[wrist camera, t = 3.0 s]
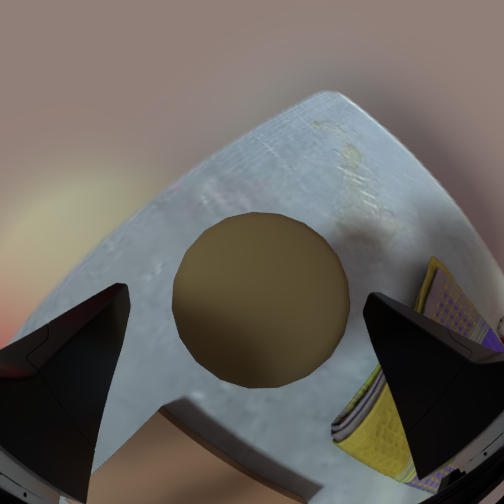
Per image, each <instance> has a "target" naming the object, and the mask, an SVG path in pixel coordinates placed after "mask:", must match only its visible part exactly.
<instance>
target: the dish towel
mask: <svg viewBox="0 0 504 504" xmlns="http://www.w3.org/2000/svg"><path fill="white" fill-rule="evenodd" d="M413 310H415V311H417V312H419V313H421V314H422V315H424V316H426V317H428V318H430V319H432V320H434V321H436V322H438V323H440V324H441V325H443V326H445V327H446V328H449V329H451V330H453V331H455V332H457V333H459V334H460V335H462V336H464V337H466V338H468V339H471V340H473V341H475V342H477V343H479V344H481V345H483V346H485V347H487V348H490V349H492V350H494V351H497V352H504V346H503V345H502V344H501V343H500V342H499V340H498V338H497V337H496V335H495V334H494V332H493V331H492V329H491V328H490V326H489V325H488V324H487V322H486V321H485V320H484V319H483V317H482V316H481V315H480V314H479V313H478V311H477V310H476V308H475V307H474V306H473V304H472V303H471V302H470V301H469V300H468V299H467V298H466V297H465V295H464V294H463V292H462V290H461V289H460V288H459V287H458V286H457V285H456V283H455V282H454V280H453V278H452V276H451V275H450V273H449V272H448V270H447V269H446V268H445V266H444V265H443V264H442V263H440V262H439V260H438V259H436V258H435V257H431V259H430V262H429V266H428V269H427V275H426V277H425V279H424V281H423V284H422V286H421V288H420V290H419V293H418V296H417V299H416V301H415V304H414V307H413ZM331 428H332V429H331V436H332V437H333V438H334V439H333V441H332V442H333V443H334V444H335V445H337V446H338V447H339V448H340V449H342V450H343V451H345V452H346V453H347V454H349V455H350V456H352V457H353V458H355V459H356V460H358V461H360V462H362V463H364V464H366V465H367V466H369V467H371V468H373V469H374V470H376V471H378V472H380V473H382V474H384V475H386V476H389V477H391V478H392V479H394V480H396V481H398V482H402V483H404V484H406V485H409V486H412V487H415V488H418V489H421V490H424V491H427V492H430V493H432V494H436V493H437V491H438V488H439V485H440V482H441V479H442V478H443V477H445V476H446V475H448V474H449V473H451V472H452V471H454V470H455V469H457V468H458V466H457V464H456V462H455V461H454V462H452V463H451V464H449V465H447V466H446V467H444V468H442V469H441V470H439V471H437V472H435V473H433V474H432V475H430V476H428V477H426V478H424V479H422V480H420V481H419V479H418V477H417V473H416V470H415V466H414V463H413V459H412V456H411V452H410V449H409V446H408V442H407V439H406V435H405V432H404V429H403V426H402V423H401V420H400V417H399V414H398V412H397V409H396V406H395V403H394V400H393V397H392V395H391V392H390V389H389V387H388V384H387V381H386V379H385V376H384V373H383V371H382V368H381V366H380V363H379V365H378V366H377V367H376V369H375V370H374V372H373V373H372V375H371V376H370V377H369V379H368V380H367V381H366V383H365V384H364V385H363V386H362V387H361V388H360V390H359V391H358V393H357V394H356V395H355V396H354V398H353V399H352V400H351V401H350V402H349V404H348V405H347V406H346V407H345V409H344V410H343V411H342V412H341V413H340V414H339V415H338V417H337V418H336V419H335V420H334V422H333V423H332V424H331Z"/></svg>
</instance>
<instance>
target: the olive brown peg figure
mask: <svg viewBox="0 0 504 504" xmlns="http://www.w3.org/2000/svg"><path fill="white" fill-rule="evenodd" d="M349 311H350V300H349V288H348V280H347V278H346V275H345V272H344V270H343V267H342V265H341V262H340V260H339V257H338V256H337V254H336V253H335V252H334V250H333V249H332V248H331V247H330V245H329V244H328V243H327V241H326V240H325V239H324V238H323V237H322V236H321V235H319V234H318V233H317V232H315V231H314V230H313V229H311V228H310V227H309V226H307V225H306V224H305V223H302V222H300V221H297V220H295V219H292V218H289V217H287V216H284V215H281V214H273V213H260V212H250V213H246V214H241V215H237V216H232V217H228V218H226V219H224V220H222V221H221V222H219V223H217V224H215V225H214V226H212V227H210V228H209V229H207V230H205V231H204V232H203V233H202V234H201V235H200V237H199V238H198V239H197V240H196V241H195V242H194V243H193V244H192V245H191V247H190V248H189V249H188V250H187V251H186V253H185V255H184V257H183V260H182V262H181V264H180V267H179V269H178V271H177V274H176V276H175V279H174V283H173V297H172V312H173V315H174V319H175V323H176V327H177V330H178V334H179V337H180V339H181V340H182V342H183V343H184V345H185V346H186V348H187V349H188V350H189V352H190V353H191V355H192V356H193V358H194V359H195V361H196V362H197V363H199V364H200V365H201V366H203V367H204V368H205V369H207V370H208V371H209V372H211V373H212V374H213V375H215V376H216V377H218V378H219V379H220V380H223V381H226V382H229V383H233V384H236V385H239V386H242V387H246V388H278V387H281V386H284V385H287V384H289V383H292V382H294V381H297V380H299V379H302V378H304V377H306V376H308V375H310V374H311V373H312V372H314V371H315V370H316V369H317V368H318V367H319V366H321V365H322V364H323V363H324V362H325V361H326V360H328V359H329V358H330V357H331V355H332V354H333V352H334V350H335V349H336V347H337V345H338V344H339V342H340V340H341V339H342V337H343V335H344V333H345V329H346V324H347V320H348V316H349Z"/></svg>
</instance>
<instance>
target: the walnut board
mask: <svg viewBox="0 0 504 504" xmlns="http://www.w3.org/2000/svg"><path fill="white" fill-rule="evenodd" d="M65 500H66V501H67V502H68V503H69V504H82V503H79V502H76V501H74V500H71V499H68V498H66V499H65ZM86 504H308V503H307V502H306V501H305V499H304V498H302V497H300V496H298V495H296V494H294V493H292V492H289V491H287V490H285V489H283V488H281V487H279V486H277V485H276V484H274V483H272V482H270V481H268V480H266V479H264V478H263V477H261V476H259V475H257V474H256V473H254V472H252V471H250V470H249V469H247V468H245V467H244V466H242V465H240V464H239V463H237V462H236V461H234V460H233V459H231V458H229V457H228V456H226V455H225V454H223V453H222V452H220V451H219V450H218V449H216V448H215V447H213V446H212V445H210V444H209V443H208V442H206V441H205V440H204V439H202V438H201V437H199V436H198V435H197V434H195V433H194V432H193V431H192V430H190V429H189V428H188V427H186V426H185V425H184V424H183V423H181V422H180V421H179V420H178V419H177V418H175V417H174V416H173V415H172V414H171V413H169V412H168V411H167V410H166V409H165V408H164V407H162V406H161V407H160V408H159V409H158V411H157V412H156V413H155V414H154V415H153V416H152V417H151V418H150V419H149V420H148V421H147V422H146V423H145V424H144V425H143V426H142V427H141V428H140V429H139V430H138V431H137V432H136V433H135V434H134V435H133V436H132V437H131V438H130V439H129V440H128V441H127V442H126V443H125V444H124V445H123V446H122V447H121V448H119V449H118V450H117V451H116V452H115V453H114V454H113V455H112V456H111V457H110V458H109V459H108V460H107V461H106V462H105V463H104V464H103V465H102V466H101V467H100V468H99V469H97V470H96V471H95V472H94V473H93V474H92V475H91V476H90V482H89V489H88V496H87V503H86Z"/></svg>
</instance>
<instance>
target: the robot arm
mask: <svg viewBox="0 0 504 504" xmlns="http://www.w3.org/2000/svg"><path fill="white" fill-rule="evenodd" d="M130 307H131V304H130V297H129V291H128V286H127V284H124V283H115V284H113V285H111V286H110V287H108V288H106V289H104V290H103V291H101V292H99V293H97V294H96V295H94V296H92V297H91V298H89V299H87V300H85V301H84V302H82V303H80V304H79V305H77V306H75V307H73V308H72V309H70V310H68V311H67V312H65V313H63V314H62V315H60V316H58V317H57V318H55V319H54V320H52V321H50V322H49V323H48V324H45V325H44V326H42V327H41V328H39V329H37V330H35V331H34V332H32V333H30V334H29V335H27V336H25V337H23V338H21V339H19V340H18V341H16V342H14V343H12V344H10V345H8V346H6V347H4V348H2V349H1V350H0V504H59V499H60V495H61V496H63V497H66V498H68V499H71V500H74V501H76V502H79V503H82V504H86V503H87V496H88V489H89V482H90V475H91V469H92V463H93V458H94V453H95V450H94V449H95V447H96V442H97V437H98V433H99V428H100V424H101V420H102V416H103V411H104V408H105V404H106V400H107V396H108V392H109V389H110V385H111V382H112V378H113V375H114V371H115V368H116V365H117V361H118V358H119V355H120V352H121V349H122V345H123V341H124V336H125V332H126V327H127V322H128V317H129V313H130ZM363 317H364V320H365V323H366V326H367V329H368V333H369V336H370V339H371V343H372V346H373V348H374V351H375V353H376V356H377V358H378V361H379V363H380V366H381V368H382V371H383V373H384V376H385V379H386V381H387V384H388V387H389V389H390V392H391V395H392V397H393V400H394V403H395V406H396V409H397V412H398V414H399V417H400V420H401V423H402V426H403V429H404V432H405V435H406V439H407V442H408V446H409V449H410V452H411V456H412V459H413V463H414V466H415V470H416V473H417V477H418V479H419V481H420V480H422V479H424V478H426V477H428V476H430V475H432V474H433V473H435V472H437V471H439V470H441V469H442V468H444V467H446V466H447V465H449V464H451V463H452V462H454V461H455V462H456V464H457V466H458V468H457V469H455V470H454V471H452V472H451V473H449V474H448V475H446V476H445V477H443V478H442V479H441V482H440V485H439V488H438V491H437V493H436V494H435V495H433V496H431V497H430V498H428V499H426V500H424V501H422V502H420V503H419V504H504V352H497V351H494V350H492V349H490V348H487V347H485V346H483V345H481V344H479V343H477V342H475V341H473V340H471V339H468V338H466V337H464V336H462V335H460V334H459V333H457V332H455V331H453V330H451V329H449V328H446V327H445V326H443V325H441V324H440V323H438V322H436V321H434V320H432V319H430V318H428V317H426V316H424V315H422V314H421V313H419V312H417V311H415V310H413V309H411V308H409V307H407V306H405V305H403V304H401V303H399V302H397V301H395V300H394V299H392V298H390V297H388V296H386V295H384V294H382V293H380V292H372V293H370V294H369V295H368V298H367V301H366V303H365V306H364V309H363Z"/></svg>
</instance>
